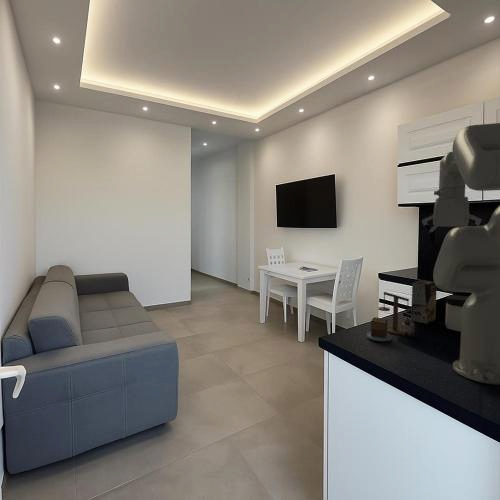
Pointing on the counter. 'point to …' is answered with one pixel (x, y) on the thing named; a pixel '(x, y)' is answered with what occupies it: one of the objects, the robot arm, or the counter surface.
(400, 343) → the counter surface
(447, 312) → the jar
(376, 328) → the block
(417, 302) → the coffee box
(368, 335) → the dish
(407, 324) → the balance
